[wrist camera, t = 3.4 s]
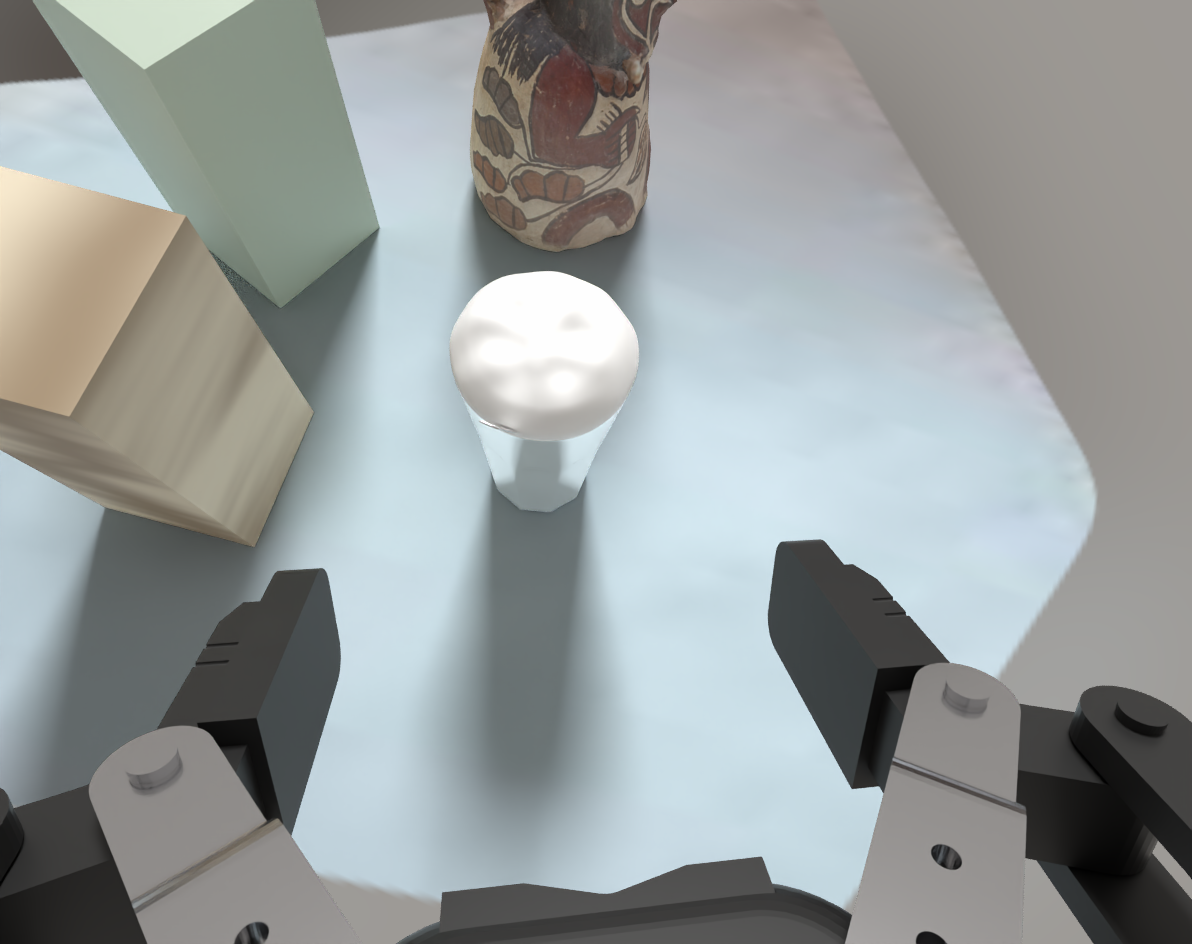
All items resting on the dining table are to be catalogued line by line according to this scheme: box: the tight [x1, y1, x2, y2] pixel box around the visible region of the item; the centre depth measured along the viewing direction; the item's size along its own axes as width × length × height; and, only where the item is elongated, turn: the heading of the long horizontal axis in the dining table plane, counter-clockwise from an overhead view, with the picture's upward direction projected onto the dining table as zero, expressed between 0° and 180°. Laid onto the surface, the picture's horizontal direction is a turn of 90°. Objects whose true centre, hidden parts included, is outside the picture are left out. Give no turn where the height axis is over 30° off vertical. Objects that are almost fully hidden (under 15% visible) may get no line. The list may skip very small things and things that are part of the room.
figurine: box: [470, 0, 677, 252], centre depth 24 cm, size 7×7×12 cm
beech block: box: [0, 166, 314, 547], centre depth 19 cm, size 5×5×10 cm
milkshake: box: [450, 271, 639, 512], centre depth 20 cm, size 4×5×10 cm
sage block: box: [32, 0, 380, 309], centre depth 23 cm, size 5×5×10 cm
